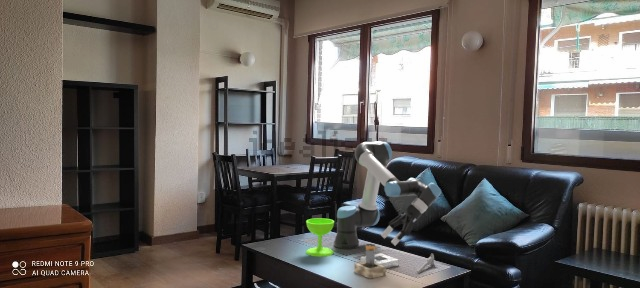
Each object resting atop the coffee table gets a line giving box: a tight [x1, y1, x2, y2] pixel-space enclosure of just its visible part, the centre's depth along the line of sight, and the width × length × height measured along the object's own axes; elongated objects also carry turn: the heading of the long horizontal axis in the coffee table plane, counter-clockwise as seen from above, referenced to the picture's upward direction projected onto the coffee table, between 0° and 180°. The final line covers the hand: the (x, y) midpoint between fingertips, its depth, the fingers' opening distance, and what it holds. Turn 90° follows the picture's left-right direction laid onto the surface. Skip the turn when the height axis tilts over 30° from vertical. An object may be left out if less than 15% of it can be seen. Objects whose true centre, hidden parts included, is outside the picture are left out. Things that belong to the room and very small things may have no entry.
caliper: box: [415, 253, 435, 275], centre depth 230 cm, size 20×1×6 cm, turn 143°
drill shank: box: [365, 243, 376, 268], centre depth 222 cm, size 5×5×14 cm
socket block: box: [360, 252, 400, 269], centre depth 238 cm, size 14×14×3 cm
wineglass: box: [305, 217, 335, 258], centre depth 257 cm, size 16×16×18 cm
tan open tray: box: [353, 261, 387, 279], centre depth 222 cm, size 12×10×4 cm
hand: (387, 240), depth 223 cm, fingers open, 13 cm apart
